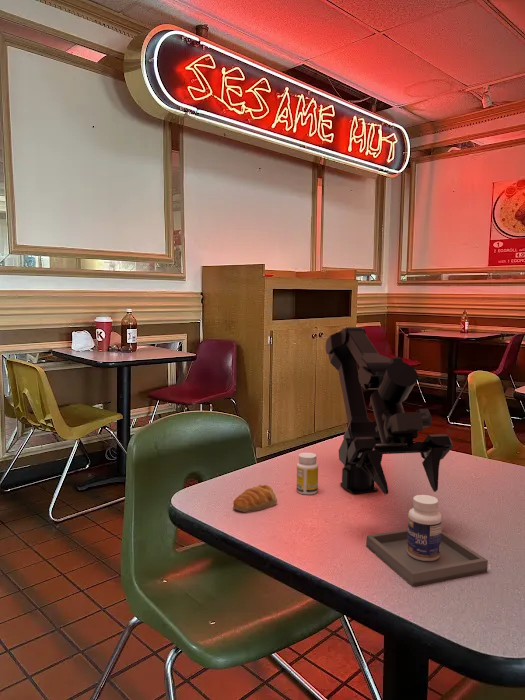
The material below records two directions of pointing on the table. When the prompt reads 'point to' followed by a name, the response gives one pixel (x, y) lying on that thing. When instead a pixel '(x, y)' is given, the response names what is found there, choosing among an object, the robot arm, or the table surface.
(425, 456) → the robot arm
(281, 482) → the table surface
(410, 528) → the pill bottle
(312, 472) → the supplement bottle
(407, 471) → the table surface
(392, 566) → the tray
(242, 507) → the pastry
